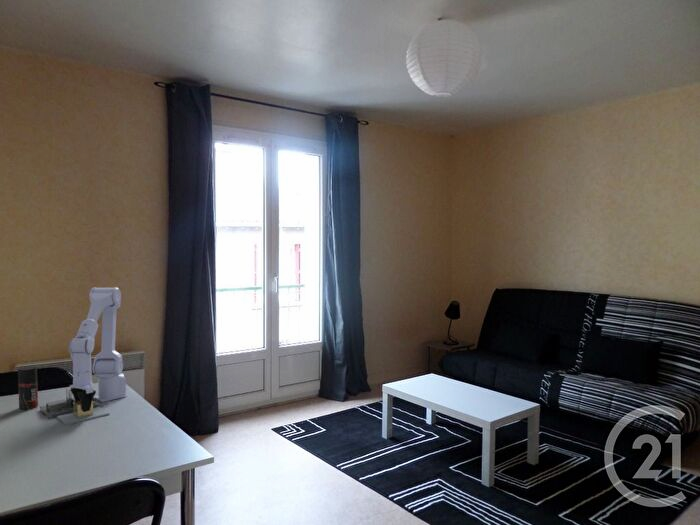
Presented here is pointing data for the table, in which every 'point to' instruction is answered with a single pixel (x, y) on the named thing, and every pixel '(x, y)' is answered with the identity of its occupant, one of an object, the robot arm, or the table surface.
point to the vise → (61, 406)
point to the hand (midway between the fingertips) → (83, 409)
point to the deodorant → (27, 387)
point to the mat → (72, 419)
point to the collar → (79, 412)
